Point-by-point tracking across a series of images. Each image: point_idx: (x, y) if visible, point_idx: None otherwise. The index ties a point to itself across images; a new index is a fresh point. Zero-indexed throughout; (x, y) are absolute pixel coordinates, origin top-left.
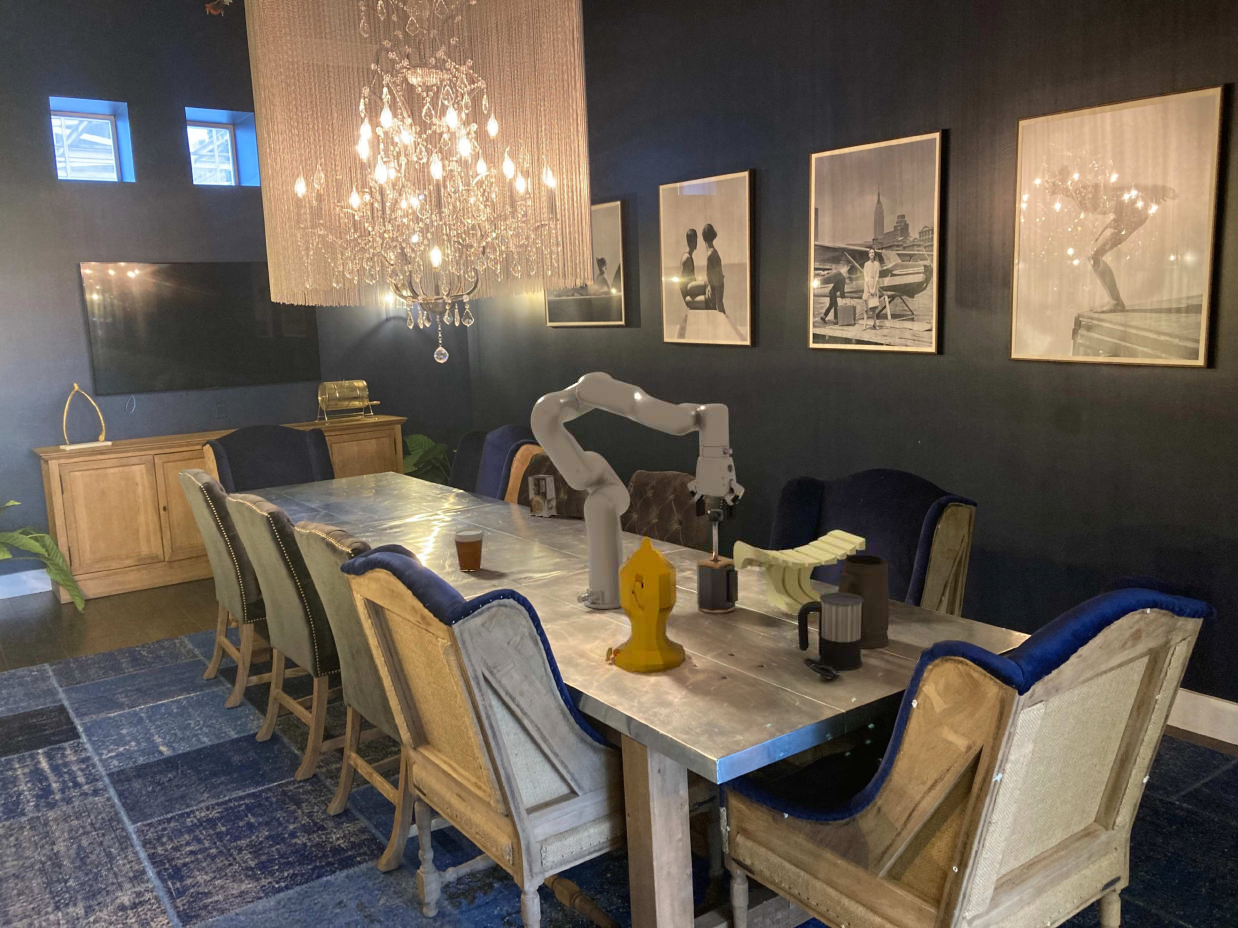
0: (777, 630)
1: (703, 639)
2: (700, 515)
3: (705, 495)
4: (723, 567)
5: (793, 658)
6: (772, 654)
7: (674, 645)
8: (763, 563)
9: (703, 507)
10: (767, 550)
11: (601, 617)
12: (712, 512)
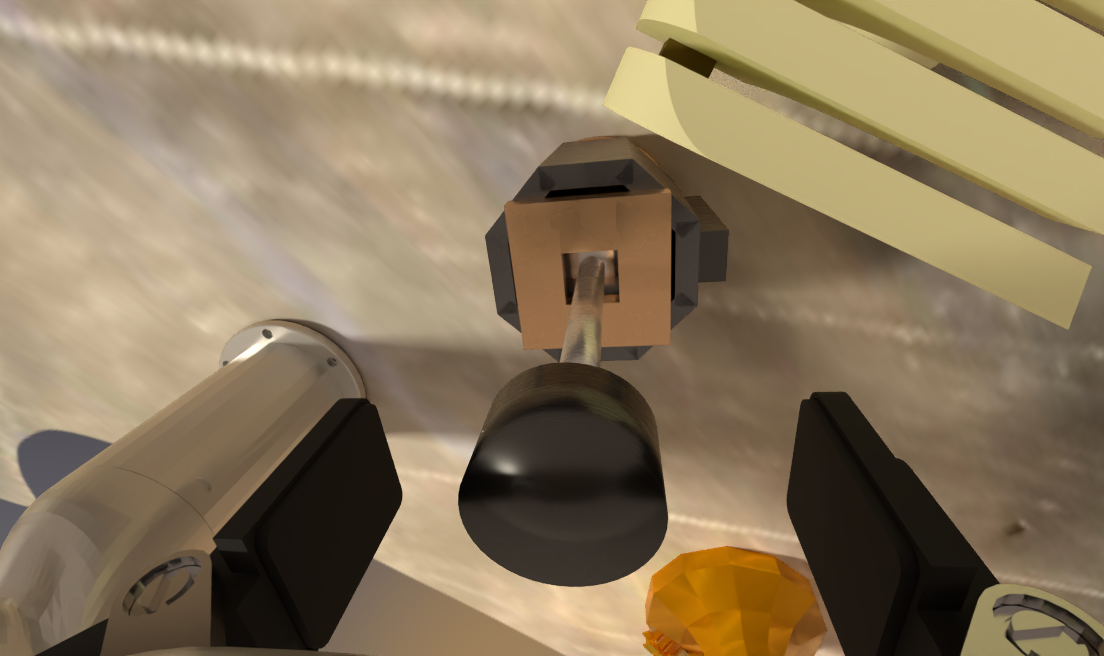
0: (945, 275)
1: (760, 465)
2: (393, 477)
3: (212, 641)
4: None
5: (1095, 451)
6: (1016, 457)
7: (797, 624)
8: (829, 17)
9: (337, 495)
10: None
11: (408, 476)
12: (599, 581)
